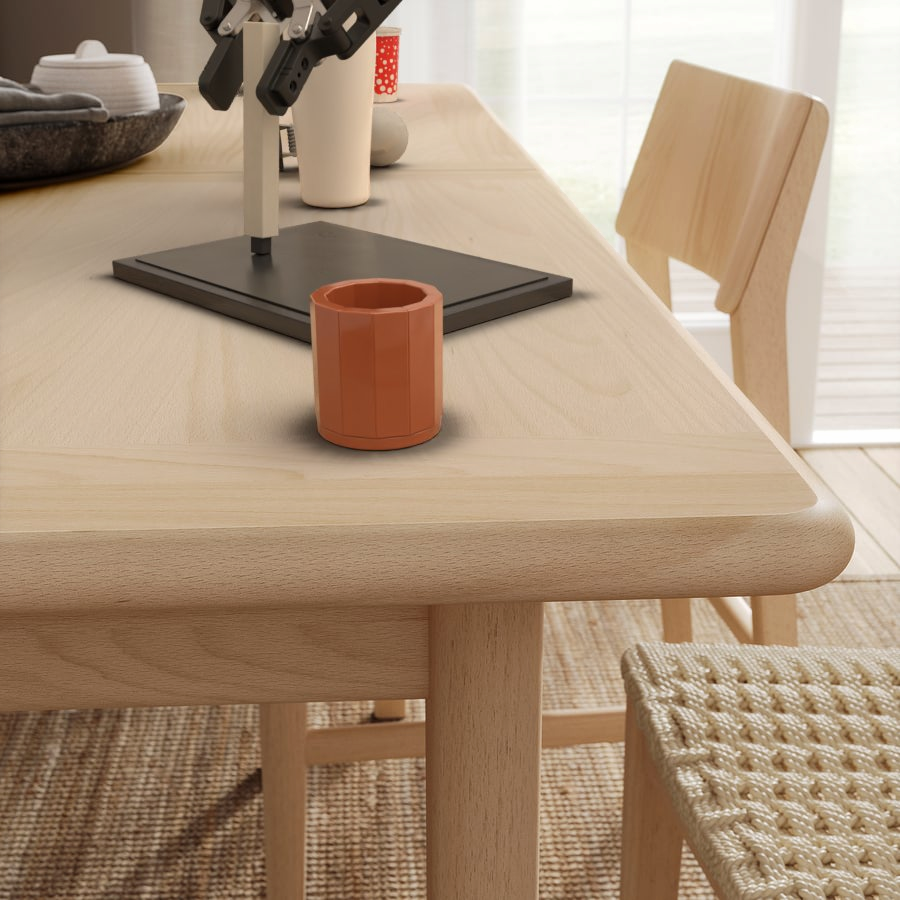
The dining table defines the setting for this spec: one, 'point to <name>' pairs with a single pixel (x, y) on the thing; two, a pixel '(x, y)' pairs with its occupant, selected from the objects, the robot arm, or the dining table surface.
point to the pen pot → (377, 362)
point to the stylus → (259, 140)
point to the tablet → (334, 276)
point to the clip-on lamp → (385, 138)
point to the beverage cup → (386, 64)
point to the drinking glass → (336, 128)
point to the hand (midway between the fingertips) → (240, 102)
